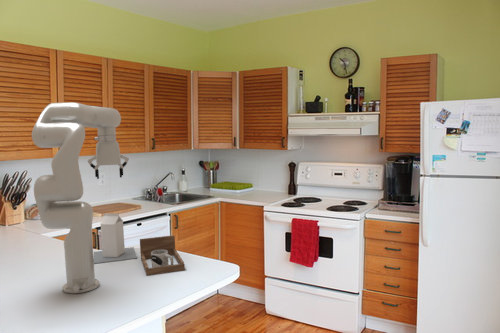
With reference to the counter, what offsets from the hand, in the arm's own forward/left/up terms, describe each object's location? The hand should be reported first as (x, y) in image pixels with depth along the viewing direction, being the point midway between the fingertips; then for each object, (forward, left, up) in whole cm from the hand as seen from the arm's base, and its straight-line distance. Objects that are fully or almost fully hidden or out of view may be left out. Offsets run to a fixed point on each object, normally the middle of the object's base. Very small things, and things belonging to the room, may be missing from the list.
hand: (109, 177), depth 193 cm
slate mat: (0, 0, -35) cm, 35 cm away
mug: (-27, -18, -36) cm, 48 cm away
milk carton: (0, 0, -35) cm, 35 cm away
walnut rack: (-22, -18, -35) cm, 45 cm away
